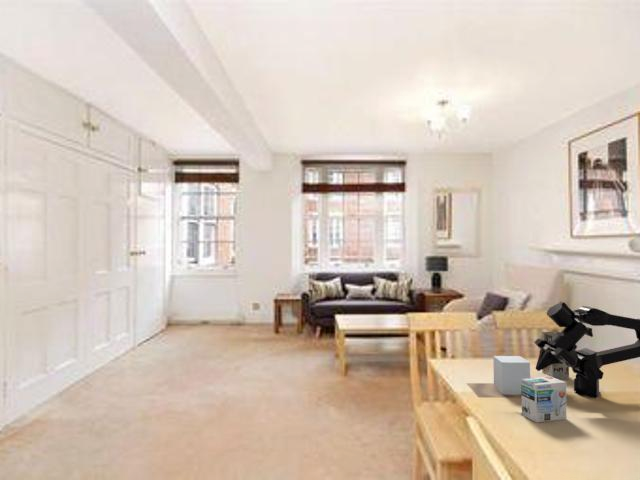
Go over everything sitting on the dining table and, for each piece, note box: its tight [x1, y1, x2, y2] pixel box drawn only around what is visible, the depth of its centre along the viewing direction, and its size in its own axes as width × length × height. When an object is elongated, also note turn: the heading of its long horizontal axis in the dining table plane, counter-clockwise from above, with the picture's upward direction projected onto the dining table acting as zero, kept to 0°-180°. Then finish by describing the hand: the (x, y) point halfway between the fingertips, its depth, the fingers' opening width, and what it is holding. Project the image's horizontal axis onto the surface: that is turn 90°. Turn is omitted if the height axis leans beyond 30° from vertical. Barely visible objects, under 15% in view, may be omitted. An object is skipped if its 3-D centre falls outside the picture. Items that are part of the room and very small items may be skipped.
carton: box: [492, 355, 531, 395], centre depth 156 cm, size 9×9×10 cm
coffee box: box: [540, 331, 570, 380], centre depth 178 cm, size 9×6×16 cm
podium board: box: [466, 382, 522, 399], centre depth 156 cm, size 20×15×1 cm
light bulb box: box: [521, 375, 567, 423], centre depth 135 cm, size 11×7×11 cm, turn 105°
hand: (536, 369), depth 155 cm, fingers closed
